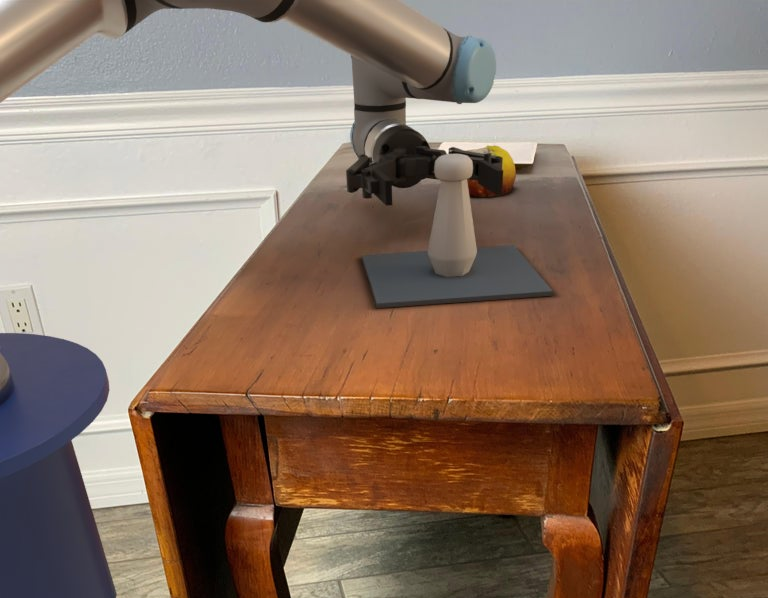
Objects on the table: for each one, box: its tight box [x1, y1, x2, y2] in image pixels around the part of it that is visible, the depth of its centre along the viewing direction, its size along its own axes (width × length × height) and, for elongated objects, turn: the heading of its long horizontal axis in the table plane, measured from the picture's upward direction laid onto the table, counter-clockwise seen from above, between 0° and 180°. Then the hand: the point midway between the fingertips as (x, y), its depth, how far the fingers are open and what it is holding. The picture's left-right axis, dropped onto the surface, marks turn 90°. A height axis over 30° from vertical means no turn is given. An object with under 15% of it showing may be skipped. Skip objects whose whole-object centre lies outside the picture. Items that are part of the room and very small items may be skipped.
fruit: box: [467, 146, 517, 198], centre depth 130 cm, size 11×10×8 cm
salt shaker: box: [427, 154, 478, 277], centre depth 92 cm, size 6×6×13 cm
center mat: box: [361, 244, 554, 309], centre depth 96 cm, size 20×18×1 cm
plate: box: [437, 141, 538, 171], centre depth 148 cm, size 19×19×2 cm
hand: (445, 187), depth 93 cm, fingers open, 13 cm apart
